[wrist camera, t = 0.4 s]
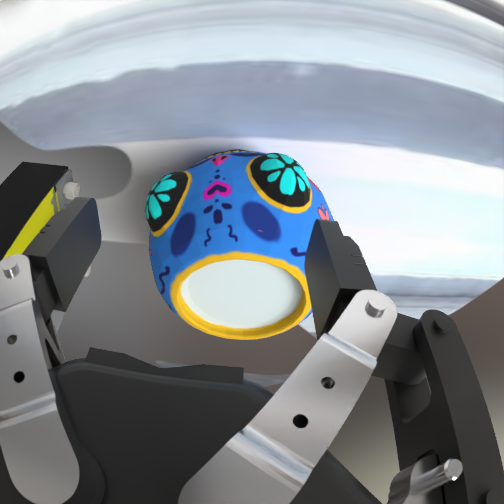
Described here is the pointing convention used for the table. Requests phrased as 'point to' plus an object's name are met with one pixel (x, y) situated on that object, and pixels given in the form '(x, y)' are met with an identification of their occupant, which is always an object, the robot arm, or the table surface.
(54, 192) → the electrical component
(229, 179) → the ceramic pot
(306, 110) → the table surface
